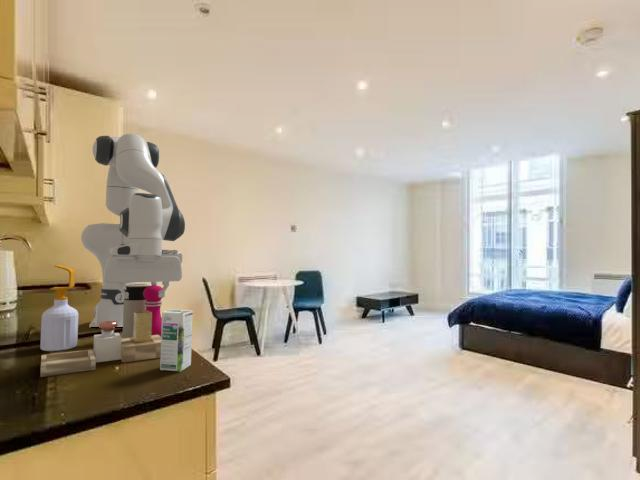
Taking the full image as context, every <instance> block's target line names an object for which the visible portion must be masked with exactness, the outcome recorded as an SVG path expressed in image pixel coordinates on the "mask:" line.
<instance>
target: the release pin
mask: <svg viewBox="0 0 640 480" xmlns="http://www.w3.org/2000/svg"><path fill="white" fill-rule="evenodd" d="M115 327H117V322H116V321H105V322H100V323H99V328H98V329H101V334H102V335H101V338H107V337H114V333H115V329H116V328H115Z"/></svg>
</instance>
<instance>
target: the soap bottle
mask: <svg viewBox="0 0 640 480" xmlns="http://www.w3.org/2000/svg"><path fill="white" fill-rule="evenodd" d="M53 267H55V268H58V269H61V270H65V271H67V272H68V276H69V277H68V280H69V281H68V286H54V287H51V288H50V290H52V291H53V290H54V291H55V293H56V294H57V296H55V297H54V300H53V301H54V302H53V305H52V306H51V307H49V308H47V309H46V310H45V311H44V312H42V315H41V321H40V322H41V324H40V343H39V344H40V345H39V346H40V347H39V348H40V350H41V351H44V352H61V351H67V350H72V349H73V348H76V347H77V345H78V335H79V334H78V333H79V329H78V328H79V312H78V310H77V309H76V308H75V307H72V306H70V305H69V303H68V301H69V300H68V299H69V298H68V296H65V293H68V292H67V291H68V290H70V289H73V288H74V287H75V283H76V282H75V281H76V279H75V278H76V271H75V269H73V268H72V267H68V266H66V265H61V264H55V265H53Z"/></svg>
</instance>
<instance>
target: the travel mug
mask: <svg viewBox="0 0 640 480" xmlns="http://www.w3.org/2000/svg"><path fill="white" fill-rule="evenodd" d="M125 286H126V292H128V293H129V296H128V297H129V299H124V307H123V328H122V334H121V335H122V336H121V337H122V338H130V337H133V327H134V312H137V311H146V306H145V301H146V299H145V298H144V296H143V292H144V290H145V288H147V287H148V286H151V283H146V282H135V284H126V285H125Z"/></svg>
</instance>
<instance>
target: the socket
mask: <svg viewBox="0 0 640 480" xmlns="http://www.w3.org/2000/svg"><path fill="white" fill-rule="evenodd" d="M151 359H161V337H160V336H159V335H151V342H143V343H133V337H130V338H122V342H121V359H120V360H121V362H122V363H129V362H137V361H144V360H151Z"/></svg>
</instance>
